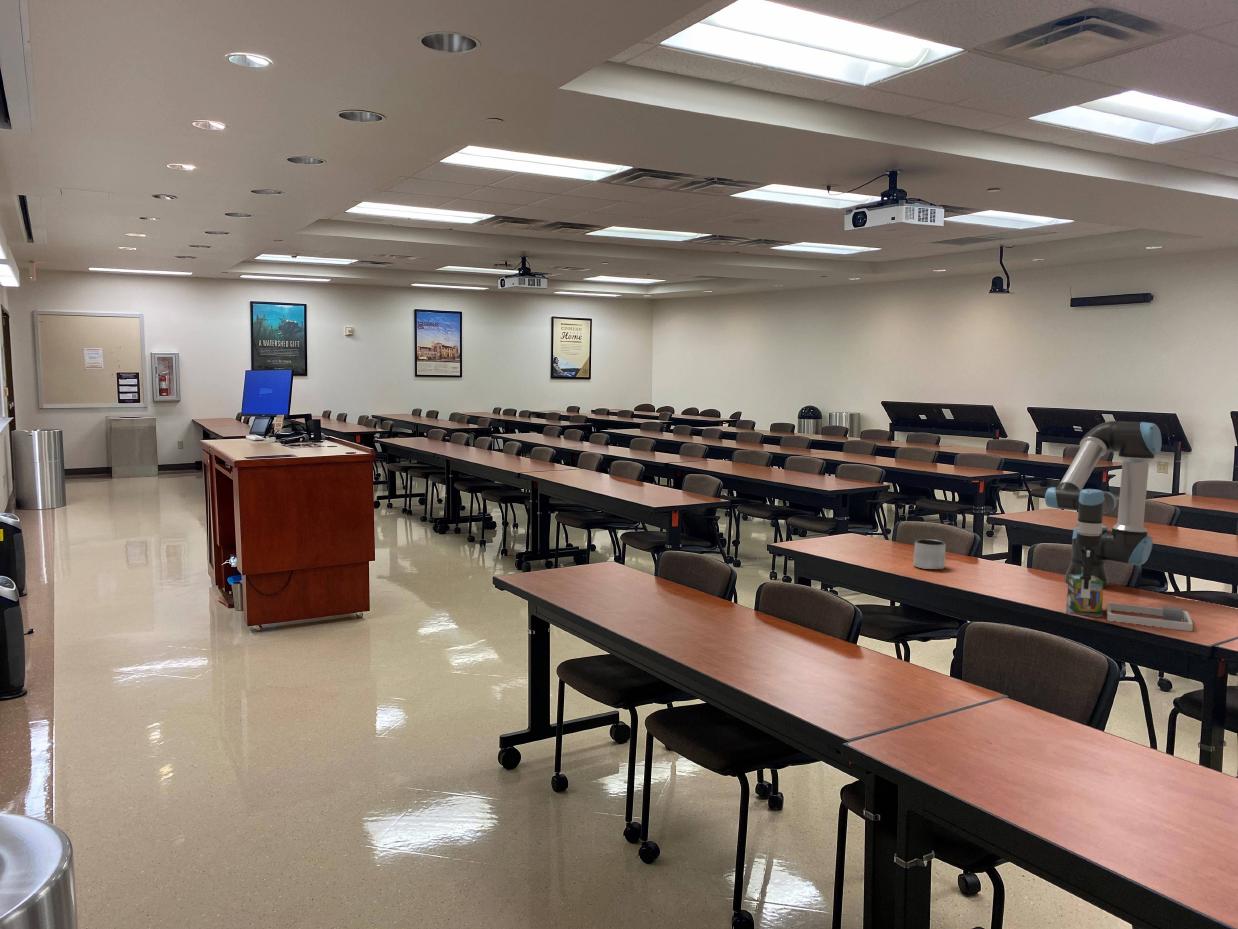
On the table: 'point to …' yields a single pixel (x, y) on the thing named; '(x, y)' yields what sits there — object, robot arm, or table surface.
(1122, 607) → the tray
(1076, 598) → the chalk box
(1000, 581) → the table surface
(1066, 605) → the pad
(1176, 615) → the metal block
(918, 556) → the planter
